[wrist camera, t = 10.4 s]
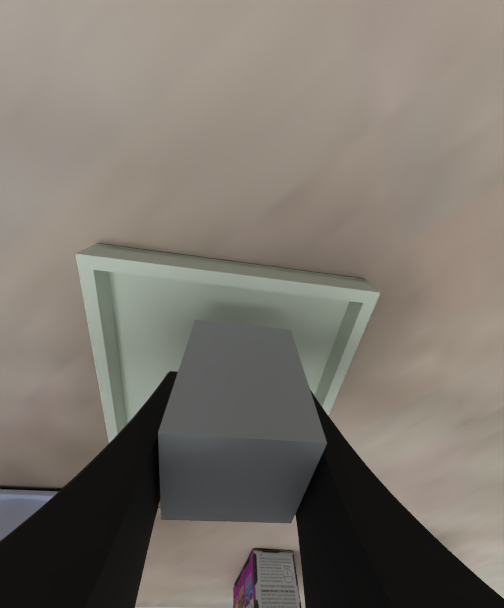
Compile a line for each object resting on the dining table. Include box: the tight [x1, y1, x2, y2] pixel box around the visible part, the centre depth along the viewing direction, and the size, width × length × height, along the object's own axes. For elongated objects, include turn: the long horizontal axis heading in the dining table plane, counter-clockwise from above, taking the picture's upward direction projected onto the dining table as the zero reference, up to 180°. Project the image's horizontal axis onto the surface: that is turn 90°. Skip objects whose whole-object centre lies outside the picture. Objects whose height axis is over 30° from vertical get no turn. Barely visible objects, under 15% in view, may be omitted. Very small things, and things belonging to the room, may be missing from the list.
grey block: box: [158, 320, 327, 523], centre depth 9 cm, size 4×4×5 cm
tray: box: [76, 243, 380, 443], centre depth 14 cm, size 13×13×2 cm
